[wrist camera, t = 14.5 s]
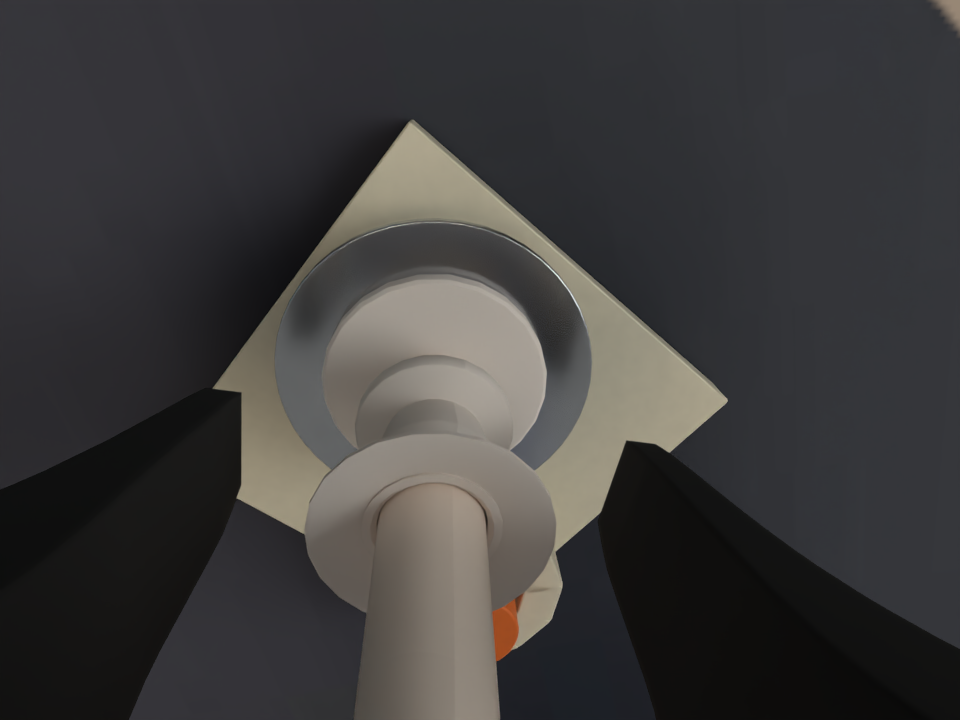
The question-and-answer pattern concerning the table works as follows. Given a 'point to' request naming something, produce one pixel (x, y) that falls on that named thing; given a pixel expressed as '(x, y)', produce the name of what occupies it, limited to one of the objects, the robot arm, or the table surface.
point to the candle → (431, 490)
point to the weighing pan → (432, 252)
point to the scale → (612, 392)
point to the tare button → (505, 629)
